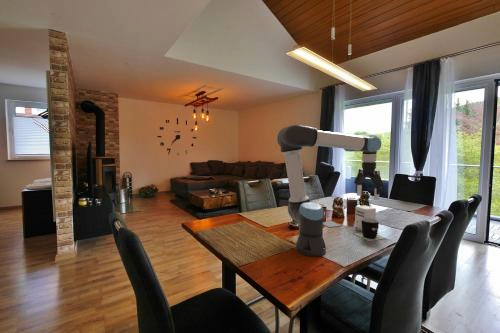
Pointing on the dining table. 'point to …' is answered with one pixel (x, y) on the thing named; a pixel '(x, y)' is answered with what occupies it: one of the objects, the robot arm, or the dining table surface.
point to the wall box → (363, 214)
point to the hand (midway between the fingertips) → (367, 197)
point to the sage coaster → (369, 239)
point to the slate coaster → (331, 224)
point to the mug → (370, 228)
